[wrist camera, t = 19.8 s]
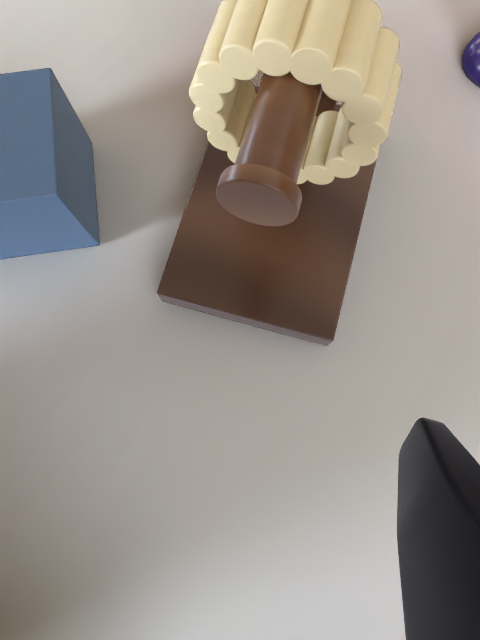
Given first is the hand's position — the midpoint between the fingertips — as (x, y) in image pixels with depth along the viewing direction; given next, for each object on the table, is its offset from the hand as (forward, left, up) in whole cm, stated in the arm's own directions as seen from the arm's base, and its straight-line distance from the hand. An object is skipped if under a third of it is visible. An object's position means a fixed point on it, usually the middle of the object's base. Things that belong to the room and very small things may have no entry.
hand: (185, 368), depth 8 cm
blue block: (+1, +15, -14) cm, 20 cm away
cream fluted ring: (+9, +5, -8) cm, 14 cm away
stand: (+10, +5, -14) cm, 17 cm away
